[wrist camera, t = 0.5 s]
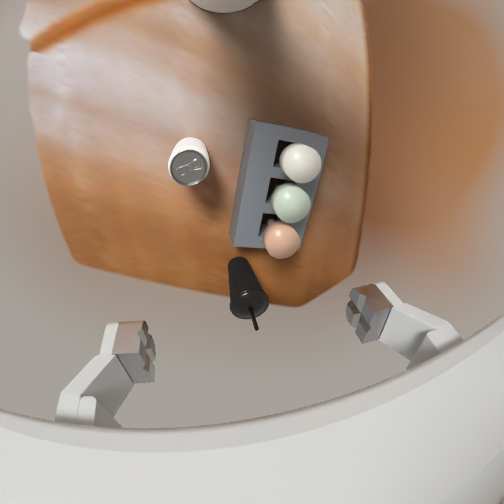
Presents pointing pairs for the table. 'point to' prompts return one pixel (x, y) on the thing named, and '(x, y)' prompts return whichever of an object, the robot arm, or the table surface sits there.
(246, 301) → the drinking cup
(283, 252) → the knob
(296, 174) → the knob
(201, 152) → the can
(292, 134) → the mount
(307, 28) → the table surface
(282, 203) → the knob mid
